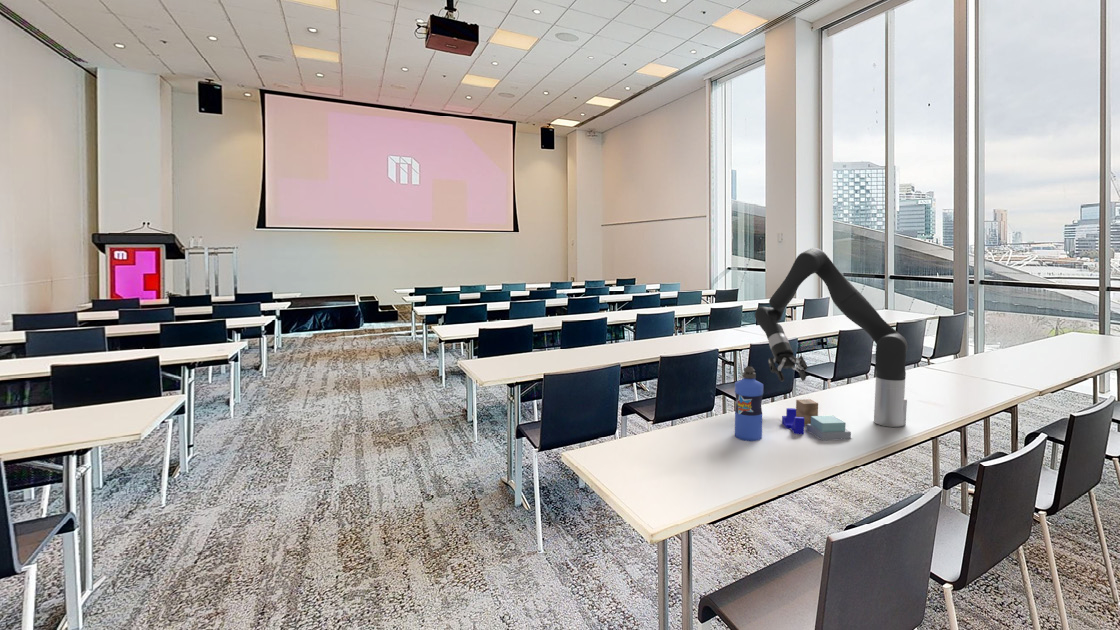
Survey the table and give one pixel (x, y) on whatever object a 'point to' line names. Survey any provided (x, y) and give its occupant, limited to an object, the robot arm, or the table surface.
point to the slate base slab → (828, 433)
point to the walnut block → (806, 409)
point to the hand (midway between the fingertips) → (793, 380)
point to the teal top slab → (828, 423)
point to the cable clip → (793, 421)
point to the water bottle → (748, 407)
